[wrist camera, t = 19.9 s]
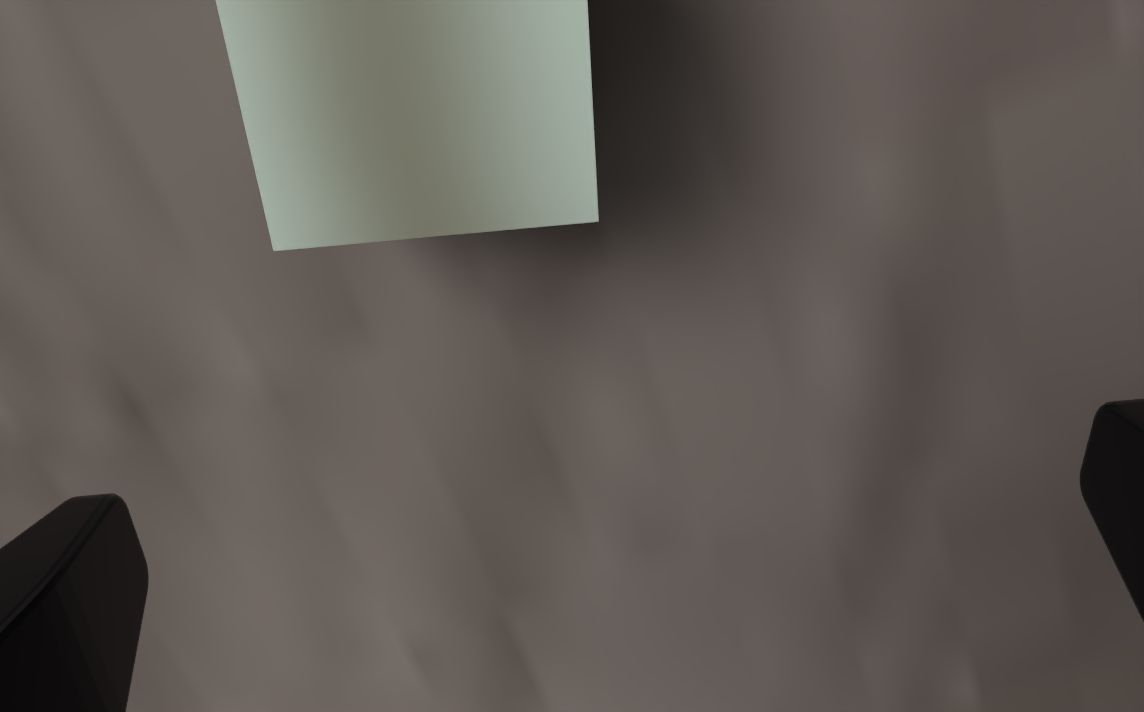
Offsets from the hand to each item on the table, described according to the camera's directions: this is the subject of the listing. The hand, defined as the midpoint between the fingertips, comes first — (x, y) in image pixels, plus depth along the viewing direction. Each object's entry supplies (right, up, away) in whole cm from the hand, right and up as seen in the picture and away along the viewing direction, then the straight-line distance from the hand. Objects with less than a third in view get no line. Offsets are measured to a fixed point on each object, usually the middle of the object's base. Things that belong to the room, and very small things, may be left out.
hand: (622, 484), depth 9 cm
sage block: (-3, +8, +9) cm, 12 cm away
